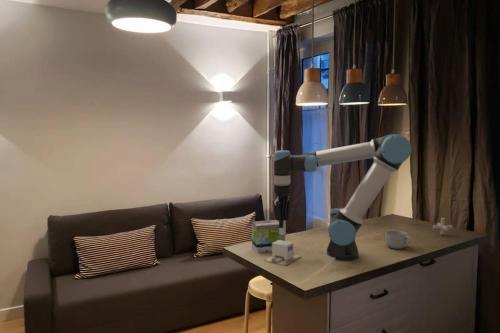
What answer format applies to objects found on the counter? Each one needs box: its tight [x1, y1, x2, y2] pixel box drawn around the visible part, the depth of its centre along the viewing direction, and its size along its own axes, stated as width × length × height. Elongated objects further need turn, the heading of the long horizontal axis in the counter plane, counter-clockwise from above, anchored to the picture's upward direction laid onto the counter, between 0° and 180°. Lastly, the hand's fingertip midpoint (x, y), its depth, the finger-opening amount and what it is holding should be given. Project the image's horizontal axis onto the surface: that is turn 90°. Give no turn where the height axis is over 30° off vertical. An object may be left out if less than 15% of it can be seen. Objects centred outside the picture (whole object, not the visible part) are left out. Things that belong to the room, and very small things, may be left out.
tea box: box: [251, 219, 286, 254], centre depth 198 cm, size 15×10×15 cm
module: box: [271, 240, 295, 261], centre depth 182 cm, size 8×6×7 cm
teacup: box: [384, 229, 412, 250], centre depth 198 cm, size 14×11×8 cm
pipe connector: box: [432, 217, 453, 235], centre depth 218 cm, size 10×10×10 cm
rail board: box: [263, 251, 302, 267], centre depth 182 cm, size 12×14×3 cm
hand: (282, 234), depth 181 cm, fingers closed
